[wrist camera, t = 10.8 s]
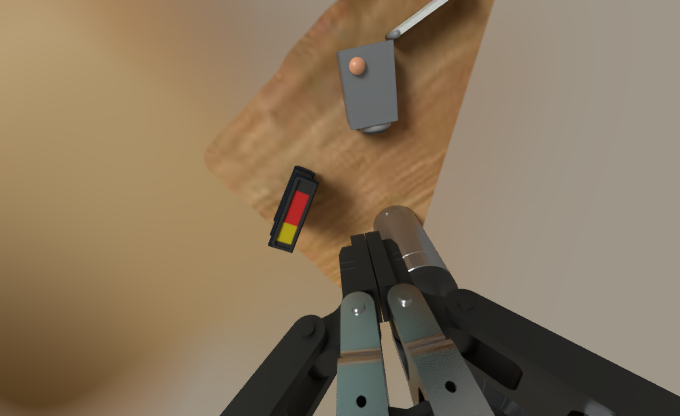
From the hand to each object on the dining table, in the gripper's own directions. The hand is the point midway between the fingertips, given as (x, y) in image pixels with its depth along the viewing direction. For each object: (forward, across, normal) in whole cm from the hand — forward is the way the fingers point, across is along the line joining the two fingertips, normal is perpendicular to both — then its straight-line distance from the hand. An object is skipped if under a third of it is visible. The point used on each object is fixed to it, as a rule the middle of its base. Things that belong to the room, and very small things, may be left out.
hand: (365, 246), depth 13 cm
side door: (+33, -15, -12) cm, 38 cm away
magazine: (+33, +10, +11) cm, 36 cm away
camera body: (+33, -6, -4) cm, 34 cm away
